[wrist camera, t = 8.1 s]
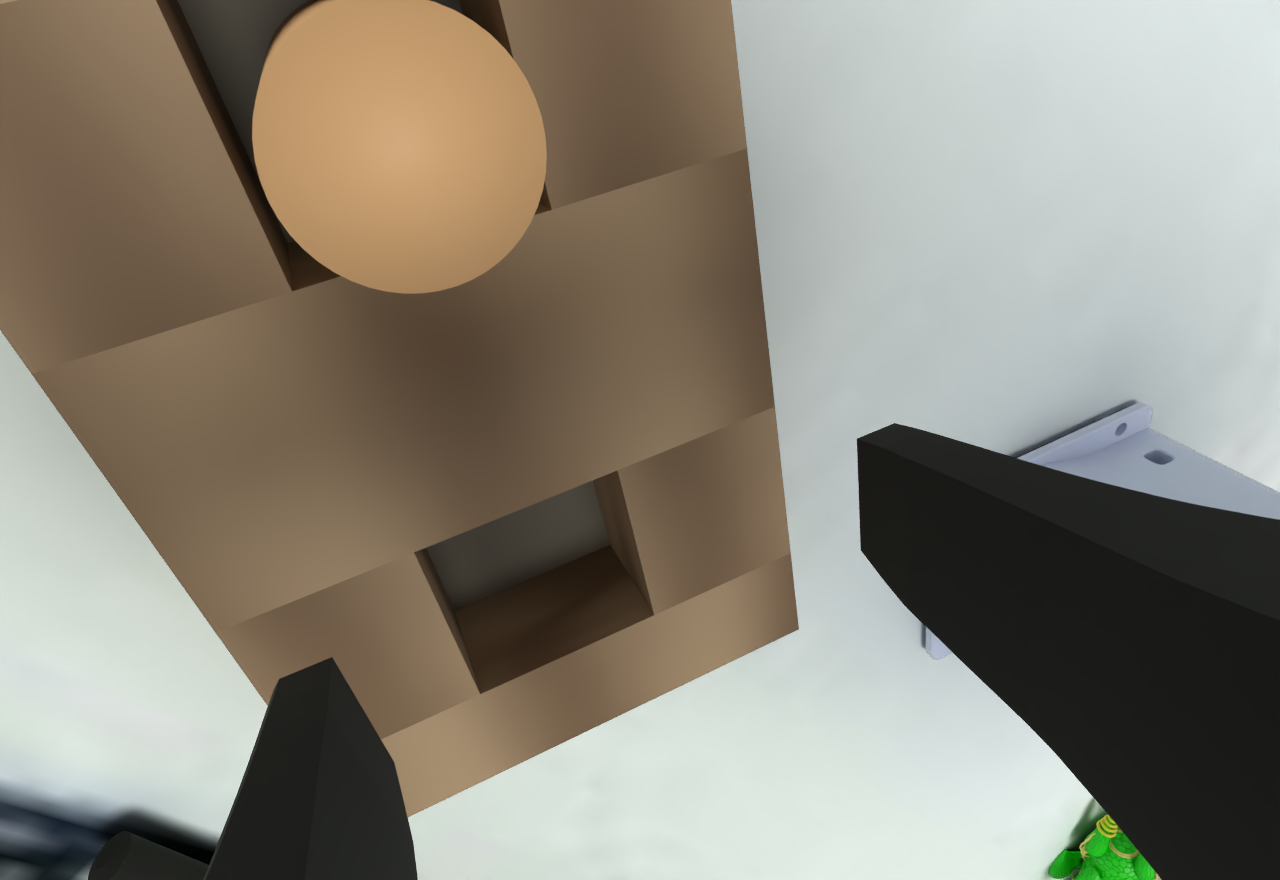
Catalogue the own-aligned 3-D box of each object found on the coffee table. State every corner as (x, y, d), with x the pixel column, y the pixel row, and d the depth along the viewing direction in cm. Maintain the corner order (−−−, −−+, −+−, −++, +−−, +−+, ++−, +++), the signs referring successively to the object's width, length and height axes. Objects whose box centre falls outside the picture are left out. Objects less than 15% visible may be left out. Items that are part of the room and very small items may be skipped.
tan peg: (415, -28, 14) (501, -39, 8) (474, 159, 15) (575, 246, 10) (228, 19, 13) (191, 38, 8) (311, 208, 15) (328, 330, 9)
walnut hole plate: (595, -326, 13) (685, -412, 10) (736, 554, 24) (798, 628, 21) (-240, -199, 10) (-427, -269, 8) (349, 727, 21) (362, 839, 19)
